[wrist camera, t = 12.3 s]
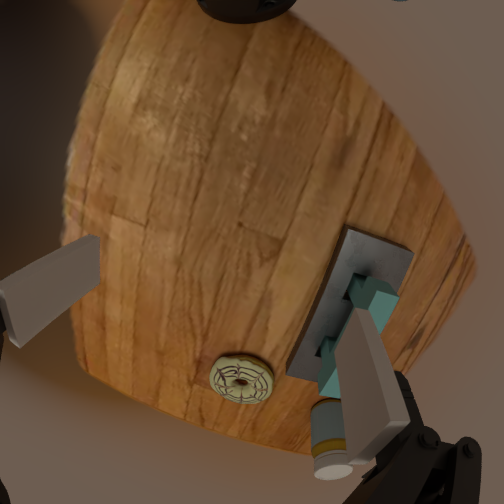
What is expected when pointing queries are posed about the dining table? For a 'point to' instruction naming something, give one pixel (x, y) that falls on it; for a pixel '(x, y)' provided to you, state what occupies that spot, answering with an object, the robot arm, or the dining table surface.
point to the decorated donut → (246, 368)
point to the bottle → (329, 441)
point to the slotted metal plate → (344, 293)
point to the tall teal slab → (362, 296)
